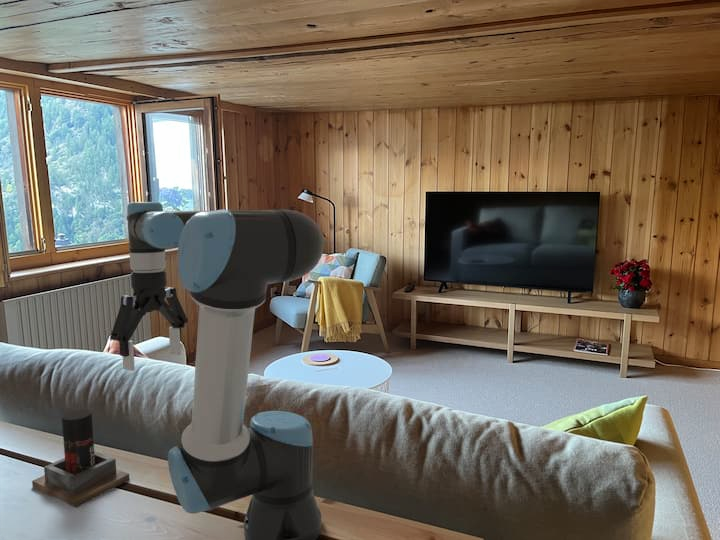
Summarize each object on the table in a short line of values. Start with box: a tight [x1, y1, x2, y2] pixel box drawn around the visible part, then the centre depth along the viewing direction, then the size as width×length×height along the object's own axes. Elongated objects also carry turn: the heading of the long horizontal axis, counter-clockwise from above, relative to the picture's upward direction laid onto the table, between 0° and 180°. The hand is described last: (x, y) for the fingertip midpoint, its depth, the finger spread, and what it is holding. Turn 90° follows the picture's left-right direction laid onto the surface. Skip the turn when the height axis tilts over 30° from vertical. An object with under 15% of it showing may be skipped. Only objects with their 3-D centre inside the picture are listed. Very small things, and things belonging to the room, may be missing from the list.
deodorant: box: [61, 408, 95, 475], centre depth 123 cm, size 6×6×15 cm
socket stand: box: [31, 450, 131, 508], centre depth 124 cm, size 16×13×5 cm
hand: (153, 361), depth 126 cm, fingers open, 13 cm apart
